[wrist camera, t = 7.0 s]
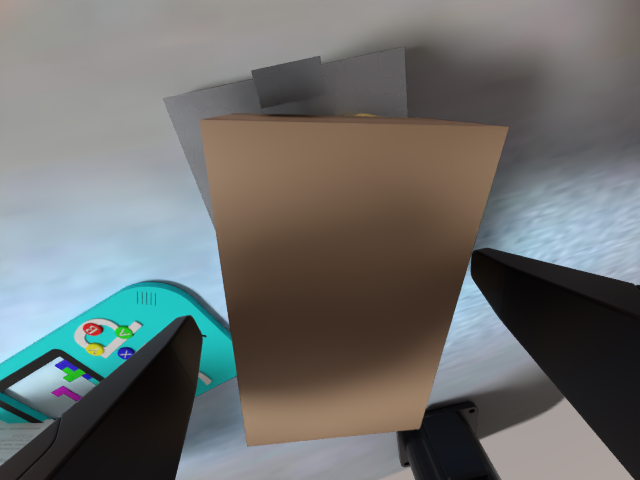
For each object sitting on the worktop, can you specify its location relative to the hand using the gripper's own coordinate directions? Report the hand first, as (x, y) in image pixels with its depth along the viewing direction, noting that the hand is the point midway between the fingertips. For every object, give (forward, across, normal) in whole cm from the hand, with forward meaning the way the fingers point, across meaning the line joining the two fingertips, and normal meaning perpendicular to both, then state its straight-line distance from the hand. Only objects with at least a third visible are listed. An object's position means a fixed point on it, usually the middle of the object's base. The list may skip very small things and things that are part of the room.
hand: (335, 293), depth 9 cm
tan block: (+2, 0, 0) cm, 3 cm away
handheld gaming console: (+7, +14, +7) cm, 17 cm away
